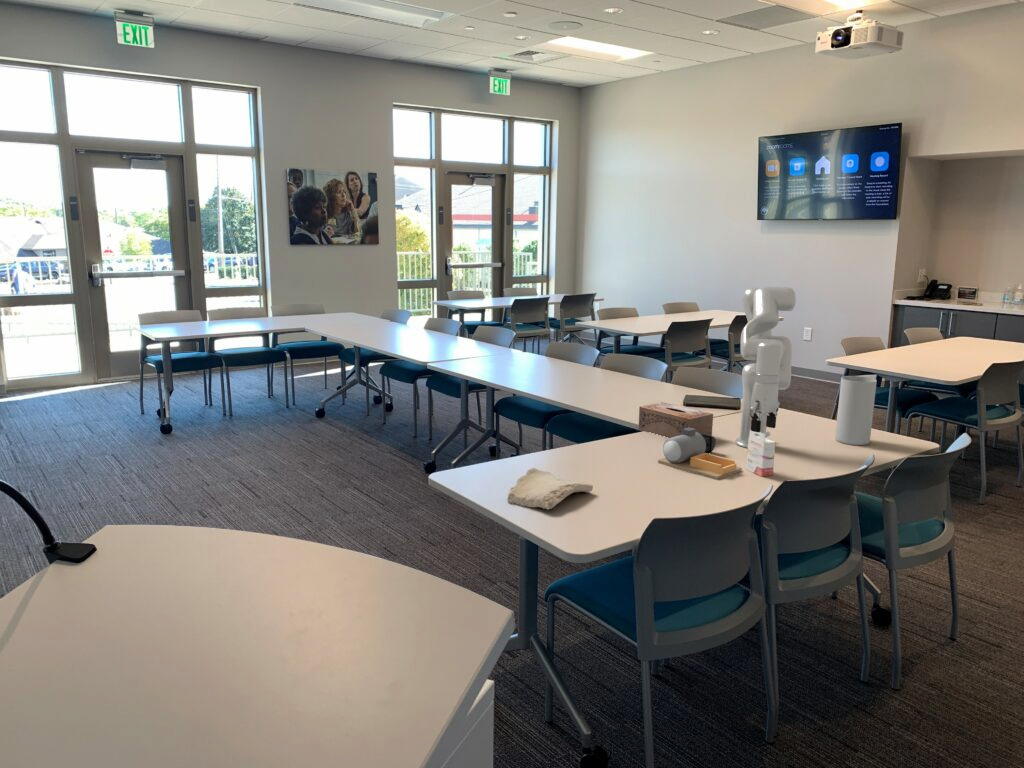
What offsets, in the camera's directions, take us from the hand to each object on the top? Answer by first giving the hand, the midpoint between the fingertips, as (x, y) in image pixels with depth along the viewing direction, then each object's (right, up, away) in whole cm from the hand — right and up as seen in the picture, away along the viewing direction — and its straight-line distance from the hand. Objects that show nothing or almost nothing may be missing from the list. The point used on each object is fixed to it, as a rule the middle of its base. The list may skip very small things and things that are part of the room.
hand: (763, 429), depth 253 cm
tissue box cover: (-19, -5, +52) cm, 55 cm away
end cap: (-15, -10, +27) cm, 33 cm away
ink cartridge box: (0, -15, +4) cm, 16 cm away
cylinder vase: (+50, -8, +44) cm, 66 cm away
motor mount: (-19, -13, +9) cm, 25 cm away
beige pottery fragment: (-74, -20, -22) cm, 79 cm away
